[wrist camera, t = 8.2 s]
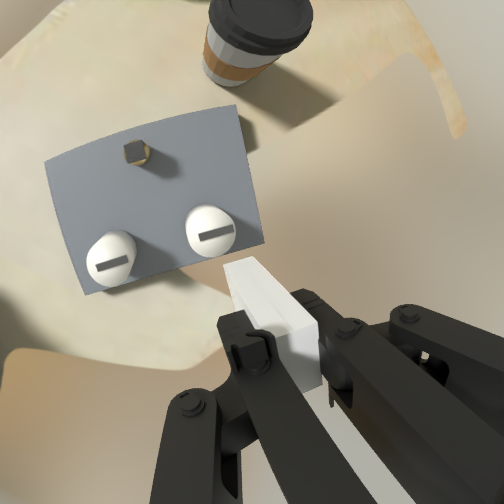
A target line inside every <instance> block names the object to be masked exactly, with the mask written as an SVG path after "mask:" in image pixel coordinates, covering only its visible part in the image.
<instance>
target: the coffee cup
mask: <svg viewBox="0 0 504 504" xmlns="http://www.w3.org/2000/svg"><path fill="white" fill-rule="evenodd" d="M208 13H209V19H210V20H209V24H208V27H207V32H206V38H205V45H204V52H203V55H204V57H203V68H204V71H205V73H206V75H207V76H208V77H209V78H210V79H211V80H212V81H214V82H215V83H217V84H220V85H223V86H229V87H231V86H238V85H241V84H244V83H245V82H247V81H248V80H250V79H251V78H253V77H254V76H256V75H257V74H258V73H260V72H261V71H262V70H264V69H265V68H266V67H268V66H269V65H271V64H272V63H273V62H275V61H276V60H277V59H279V58H280V57H281V55H283V54H285V53H288V52H290V51H292V50H293V49H295V48H297V47H298V46H299V45H300V44H301V43H302V41H303V40H304V39H305V38H306V36H307V35H308V34H309V31H310V29H311V23H312V21H313V9H312V6H311V3H310V1H309V0H212V1H211V3H210V7H209V12H208Z"/></svg>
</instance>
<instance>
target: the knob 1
mask: <svg viewBox="0 0 504 504" xmlns="http://www.w3.org/2000/svg"><path fill="white" fill-rule="evenodd" d="M136 254H137V247H136V243H135V241H134V239H133V238H132V237H131V236H130V235H129V234H128V233H126V232H124V231H122V230H112V231H109V232H107V233H106V234H105V235H104V236H103V237H102V238H101V239H100V240H99V241H97V242H96V243H95V244H94V245H93V247H92V248H91V249H90V250H89V252H88V255H87V261H86V262H87V269H88V271H89V274H90V275H91V277H92V278H93V279H94V280H95V281H96V282H97V283H99V284H101V285H103V286H108V287H113V286H117V285H120V284H122V283H123V282H124V281H125V280H126V279H127V277H128V276H129V273H130V271H131V268H132V266H133V263H134V260H135V258H136Z"/></svg>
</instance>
